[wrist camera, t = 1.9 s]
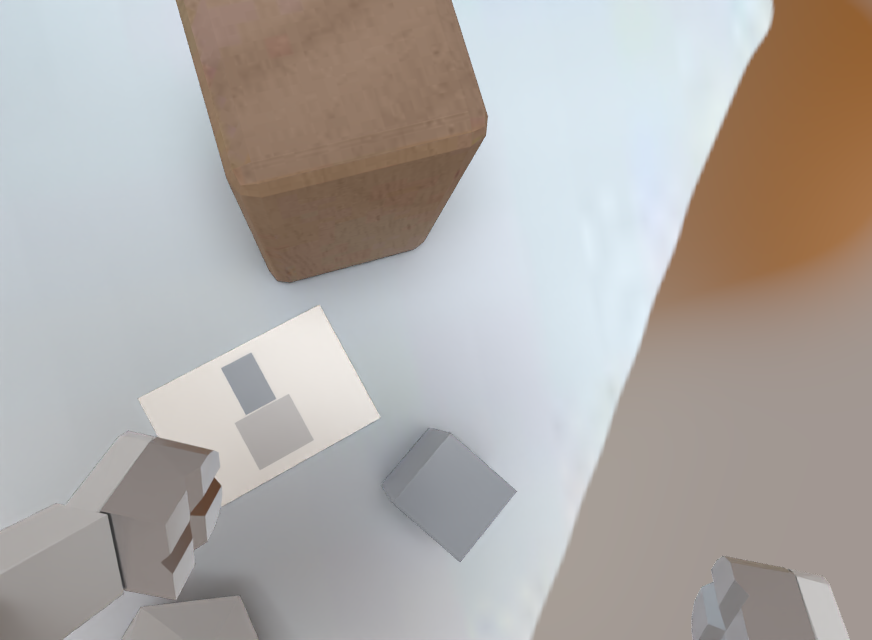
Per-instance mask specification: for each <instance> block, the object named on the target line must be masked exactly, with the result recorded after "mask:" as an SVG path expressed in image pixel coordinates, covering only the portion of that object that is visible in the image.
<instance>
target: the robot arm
mask: <svg viewBox="0 0 872 640" xmlns="http://www.w3.org/2000/svg"><path fill="white" fill-rule="evenodd" d="M219 468H220V461H219V452H216V451H214V450H210V449H206V448H202V447H197V446H193V445H189V444H185V443H181V442H176V441H172V440H168V439H164V438H159V437H154V436H149V435H145V434H140V433H136V432H132V431H127V432H125V433H123V434H122V435H120V436H119V437H118V438H117V439H116V440H115V442H114V443H113V444H112V445H111V447H110V448H109V449H108V451H107V452H106V453H105V454H104V456H103V457H102V458H101V459H100V461H99V462H98V463H97V465H96V466H95V467H94V468H93V470H92V471H91V472H90V474H89V475H88V476H87V477H86V479H85V480H84V481H83V482H82V484H81V485H80V486H79V488H78V489H77V490H76V491H75V493H74V494H73V495H72V496H71V498H70V499H69V500H68V502H67V503H66V504H65V505H63V504H57V503H55V504H53V505H51V506H49V507H47V508H45V509H43V510H41V511H39V512H37V513H35V514H33V515H31V516H29V517H27V518H25V519H23V520H21V521H19V522H17V523H15V524H13V525H11V526H9V527H7V528H5V529H3V530H1V531H0V640H62V639H64V638H65V637H66V636H68V635H69V634H70V633H72V632H73V631H74V630H76V629H77V628H78V627H80V626H81V625H82V624H84V623H85V622H86V621H88V620H89V619H90V618H92V617H93V616H94V615H96V614H97V613H99V612H100V611H101V610H103V609H104V608H105V607H107V606H108V605H109V604H111V603H112V602H113V601H115V600H116V599H117V598H119V597H120V596H121V595H123V594H124V590H125V591H131V592H136V593H141V594H146V595H151V596H157V597H162V598H167V599H172V600H177V598H178V596H179V594H180V592H181V591H182V589H183V587H184V585H185V583H186V581H187V579H188V577H189V576H190V574H191V572H192V570H193V568H194V566H195V557H194V550H195V549H196V548H198V547H200V546H201V545H203V544H205V543H206V542H208V540H209V538H210V536H211V534H212V532H213V530H214V528H215V525H216V522H217V519H218V516H219V512H220V509H221V501H222V486H221V484H220V483H219V482H218V481H217V480H216V479H215V475H216V473H217V472H218V470H219ZM711 571H712V576H713V581H714V582H712V583H710V584H707V585H705V586H703V587H701V589H700V591H699V593H698V595H697V597H696V599H695V602H694V607H693V613H692V636H693V640H850V638H849V635H848V633H847V630H846V627H845V625H844V622H843V620H842V617H841V614H840V611H839V609H838V606H837V603H836V601H835V598H834V595H833V593H832V590H831V587H830V585H829V582H828V581H827V580H826V579H825V578H824V577H823V576H820V575H816V574H811V573H806V572H801V571H796V570H792V569H786V568H784V567H778V566H773V565H768V564H763V563H758V562H753V561H748V560H743V559H737V558H733V557H728V556H722V557H721V558H719V559H717V561H716V563H715V564H714V566H713V568H712V569H711Z"/></svg>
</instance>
